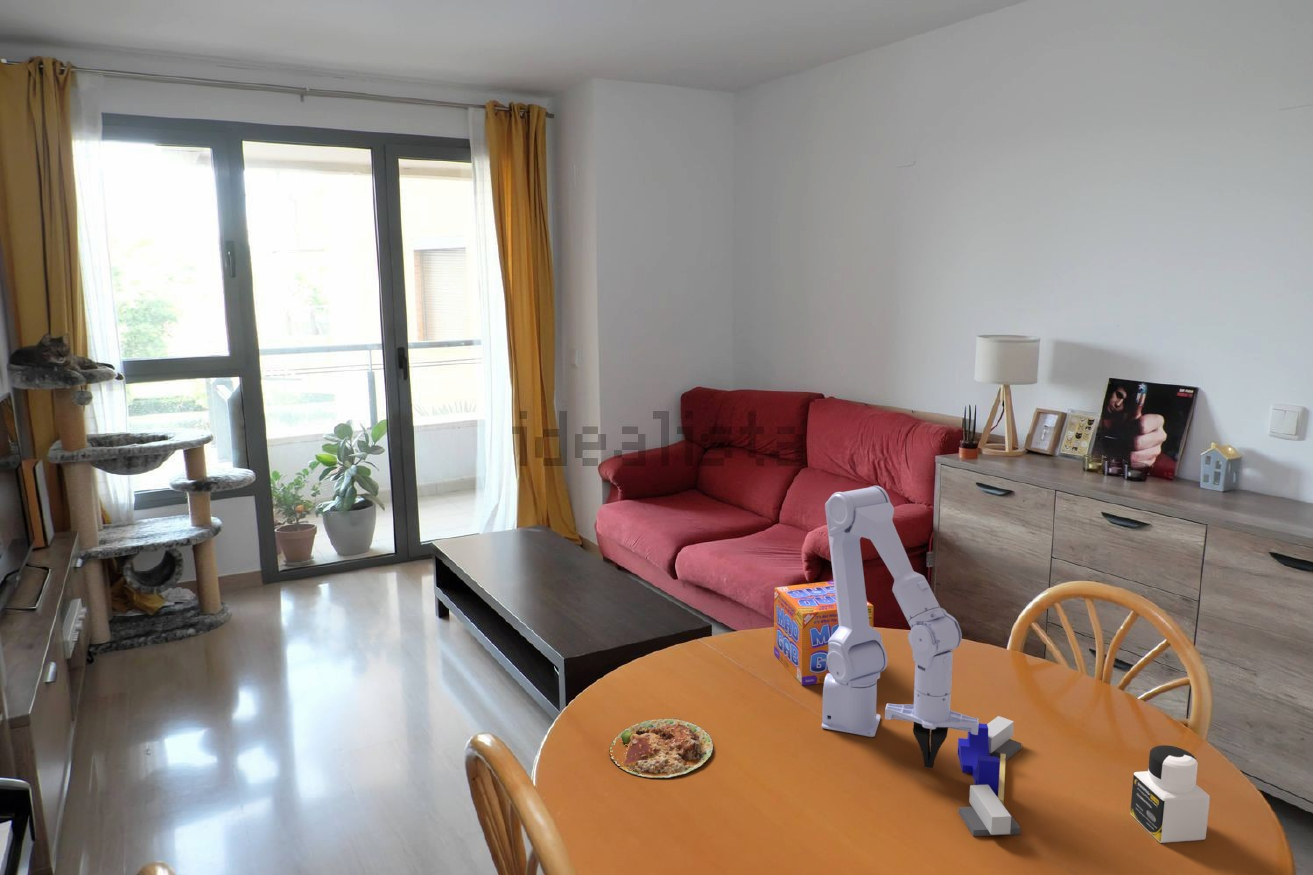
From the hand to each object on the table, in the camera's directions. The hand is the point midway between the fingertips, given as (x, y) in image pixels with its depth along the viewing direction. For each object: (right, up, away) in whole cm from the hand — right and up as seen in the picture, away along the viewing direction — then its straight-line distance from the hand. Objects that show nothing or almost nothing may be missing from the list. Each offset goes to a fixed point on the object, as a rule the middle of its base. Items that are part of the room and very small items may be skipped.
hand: (929, 764), depth 144 cm
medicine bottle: (+30, -4, -15) cm, 34 cm away
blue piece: (+8, -2, -1) cm, 8 cm away
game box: (-10, +6, +40) cm, 41 cm away
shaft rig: (+9, -2, -4) cm, 10 cm away
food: (-44, -1, +8) cm, 45 cm away
